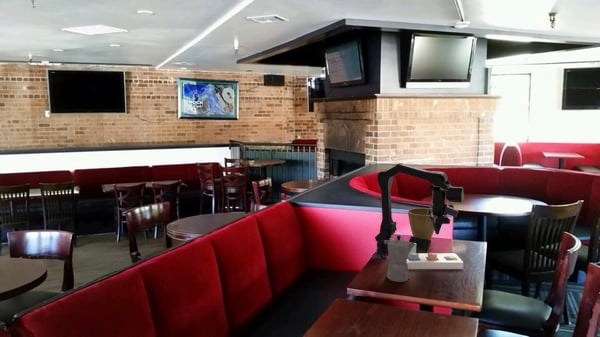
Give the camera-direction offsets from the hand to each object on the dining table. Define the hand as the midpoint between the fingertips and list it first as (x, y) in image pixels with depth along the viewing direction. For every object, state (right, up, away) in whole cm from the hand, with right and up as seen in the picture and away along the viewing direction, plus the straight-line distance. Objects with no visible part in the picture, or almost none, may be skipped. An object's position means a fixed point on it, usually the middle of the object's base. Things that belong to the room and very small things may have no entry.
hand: (437, 234), depth 210 cm
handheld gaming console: (-6, -11, +15) cm, 20 cm away
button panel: (-4, -13, -4) cm, 14 cm away
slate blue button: (-12, -12, -5) cm, 17 cm away
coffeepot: (-23, -16, -18) cm, 33 cm away
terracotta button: (-4, -12, -5) cm, 13 cm away
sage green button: (+4, -13, -5) cm, 15 cm away
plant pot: (+1, -8, +30) cm, 31 cm away
